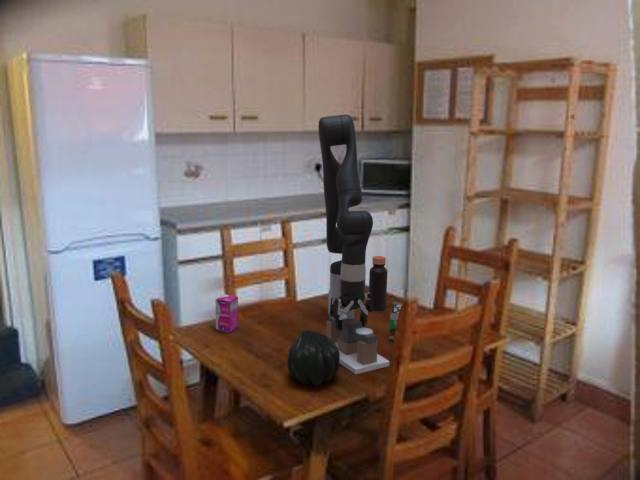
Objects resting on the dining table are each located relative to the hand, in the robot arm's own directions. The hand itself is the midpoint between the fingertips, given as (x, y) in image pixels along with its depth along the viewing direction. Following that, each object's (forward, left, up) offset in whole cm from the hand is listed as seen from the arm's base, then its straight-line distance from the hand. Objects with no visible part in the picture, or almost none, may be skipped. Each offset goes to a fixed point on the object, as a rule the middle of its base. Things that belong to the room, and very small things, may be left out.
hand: (351, 327), depth 171 cm
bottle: (-32, +33, -9) cm, 47 cm away
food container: (-5, +23, -9) cm, 25 cm away
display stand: (0, 0, -9) cm, 9 cm away
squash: (+9, -18, -9) cm, 22 cm away
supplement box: (-37, -26, -9) cm, 46 cm away
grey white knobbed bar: (0, 0, -4) cm, 4 cm away
